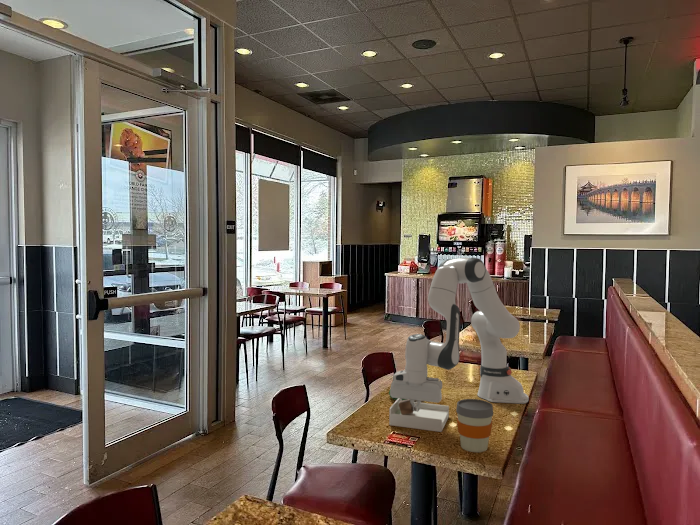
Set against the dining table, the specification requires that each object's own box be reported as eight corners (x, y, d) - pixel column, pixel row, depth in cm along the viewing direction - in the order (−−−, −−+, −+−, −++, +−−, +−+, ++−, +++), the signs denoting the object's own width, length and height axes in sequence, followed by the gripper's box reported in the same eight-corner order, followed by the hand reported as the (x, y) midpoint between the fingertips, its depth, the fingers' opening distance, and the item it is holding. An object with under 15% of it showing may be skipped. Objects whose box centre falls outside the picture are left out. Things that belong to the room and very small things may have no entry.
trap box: (448, 416, 208) (448, 401, 208) (441, 431, 192) (441, 414, 191) (400, 410, 215) (400, 395, 214) (389, 425, 198) (389, 408, 198)
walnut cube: (414, 409, 205) (411, 398, 205) (412, 412, 201) (409, 401, 201) (404, 411, 207) (400, 400, 207) (401, 415, 202) (398, 404, 203)
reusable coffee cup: (451, 440, 184) (452, 399, 183) (485, 439, 185) (486, 398, 184) (461, 454, 171) (462, 410, 171) (498, 454, 172) (498, 410, 171)
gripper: (443, 376, 202) (442, 411, 202) (393, 371, 208) (392, 405, 209) (441, 380, 196) (440, 416, 196) (389, 375, 202) (388, 410, 203)
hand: (415, 410), depth 202 cm, fingers closed
